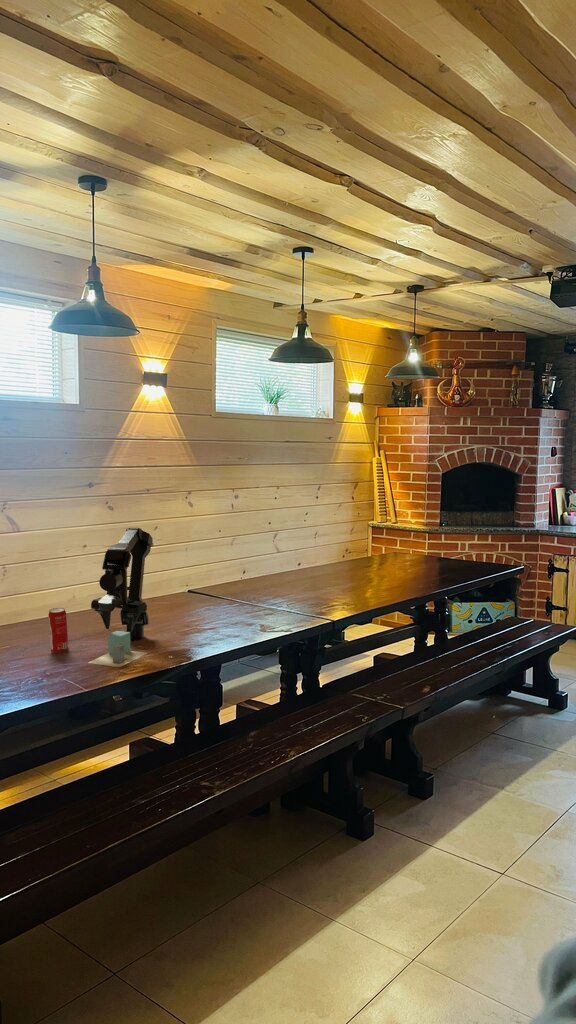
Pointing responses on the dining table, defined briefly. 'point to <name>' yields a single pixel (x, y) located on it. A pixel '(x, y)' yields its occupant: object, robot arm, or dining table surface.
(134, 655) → the board
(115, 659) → the post
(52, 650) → the beverage can
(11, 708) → the dining table surface
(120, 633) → the teal rectangular block
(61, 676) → the dining table surface
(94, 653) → the dining table surface
